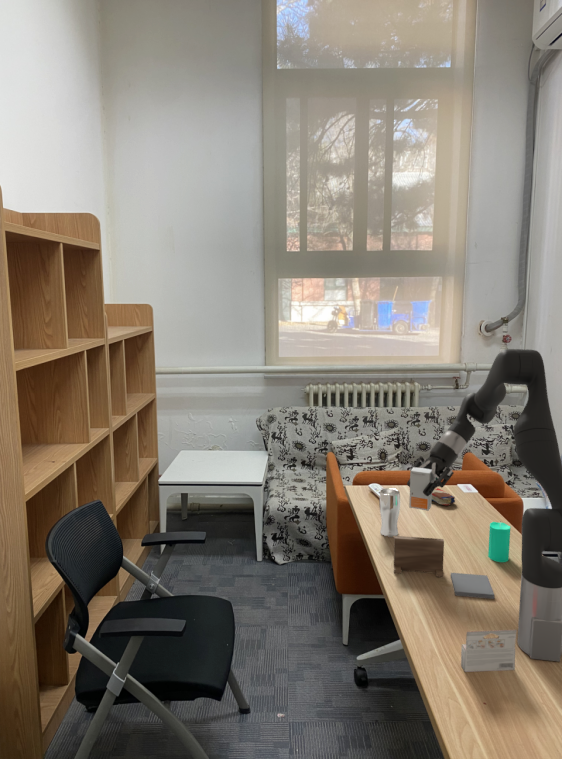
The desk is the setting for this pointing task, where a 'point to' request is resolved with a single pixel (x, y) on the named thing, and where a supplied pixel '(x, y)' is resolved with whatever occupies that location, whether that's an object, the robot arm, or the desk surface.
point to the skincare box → (420, 488)
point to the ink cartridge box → (489, 651)
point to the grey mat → (472, 585)
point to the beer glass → (389, 511)
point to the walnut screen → (418, 555)
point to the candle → (499, 542)
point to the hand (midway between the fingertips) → (417, 490)
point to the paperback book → (442, 497)
